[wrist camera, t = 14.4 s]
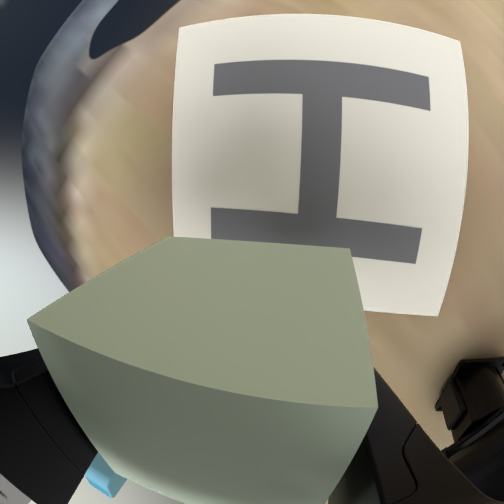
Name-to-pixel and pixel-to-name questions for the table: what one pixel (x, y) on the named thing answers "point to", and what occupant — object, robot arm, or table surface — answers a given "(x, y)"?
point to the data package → (104, 477)
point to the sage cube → (218, 368)
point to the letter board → (326, 145)
